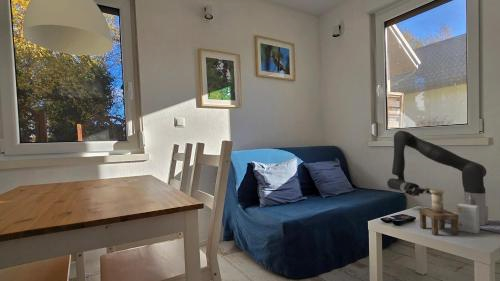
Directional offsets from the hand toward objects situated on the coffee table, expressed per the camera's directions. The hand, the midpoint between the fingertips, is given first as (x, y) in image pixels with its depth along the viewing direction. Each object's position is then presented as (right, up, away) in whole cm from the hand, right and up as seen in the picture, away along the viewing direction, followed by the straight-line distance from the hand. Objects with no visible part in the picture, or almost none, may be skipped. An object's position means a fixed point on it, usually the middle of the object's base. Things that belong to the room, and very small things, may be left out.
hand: (426, 193), depth 147 cm
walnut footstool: (0, -17, -9) cm, 20 cm away
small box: (+15, -17, -10) cm, 25 cm away
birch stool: (0, -7, -9) cm, 12 cm away
